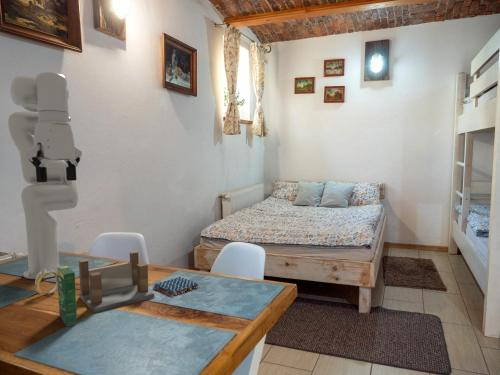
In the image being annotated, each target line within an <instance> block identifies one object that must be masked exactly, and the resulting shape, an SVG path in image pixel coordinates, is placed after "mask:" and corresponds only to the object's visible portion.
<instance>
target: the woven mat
mask: <svg viewBox="0 0 500 375" xmlns="http://www.w3.org/2000/svg"><path fill="white" fill-rule="evenodd" d="M194 287H195V288H194ZM197 287H199V285H198V283H197V282H196V281H195V282H194V281H193V280H191V279H189V280H188V279H187V278H185V277H182V276H179V277H174V279H173V278H171V279H169V280H168V279H167V280H163V281H161V282H158V283H154V285H153V287H152V288H153V289H154V290H157V291H158V290H159V291H158V292H160V291H161V292H160V293H164V294H165V295H168V296H170V297H174V296H177V295H180V294H183V293H186V292H188V291H192V290H193V289H198V288H197ZM192 288H193V289H192ZM187 290H188V291H187ZM185 291H186V292H185Z"/></svg>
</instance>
